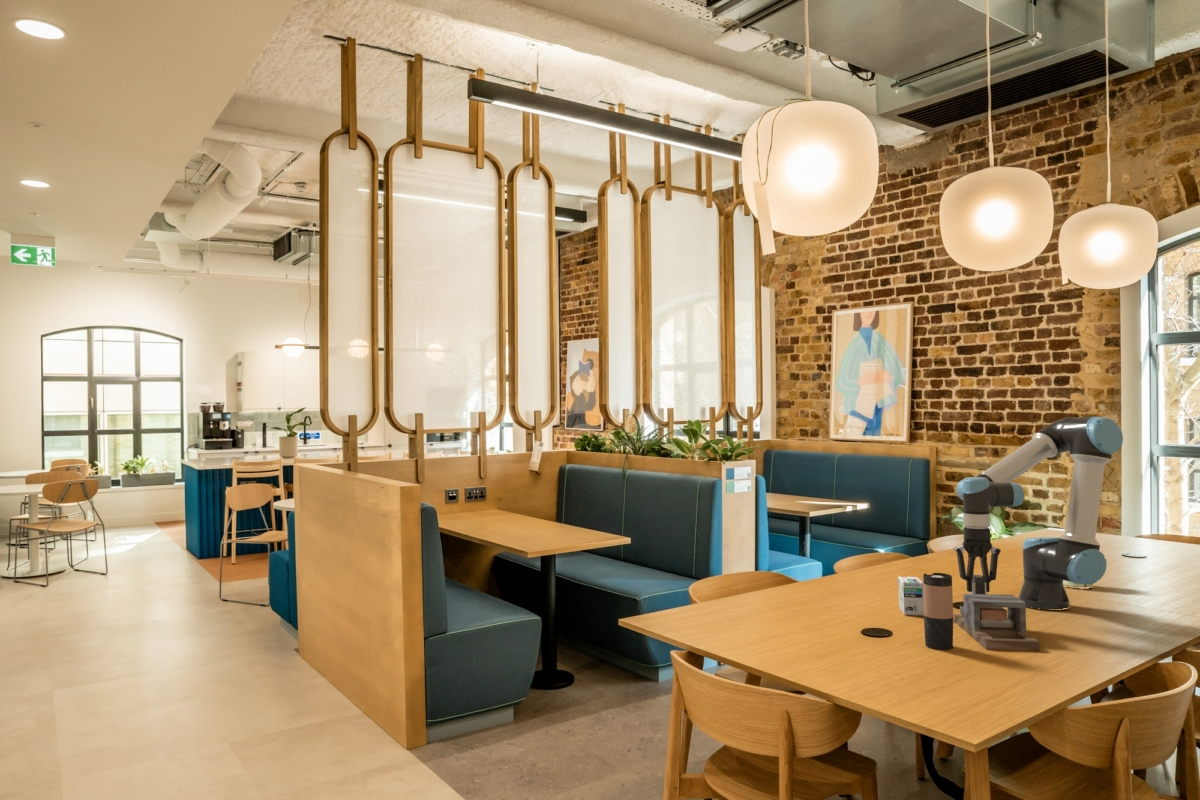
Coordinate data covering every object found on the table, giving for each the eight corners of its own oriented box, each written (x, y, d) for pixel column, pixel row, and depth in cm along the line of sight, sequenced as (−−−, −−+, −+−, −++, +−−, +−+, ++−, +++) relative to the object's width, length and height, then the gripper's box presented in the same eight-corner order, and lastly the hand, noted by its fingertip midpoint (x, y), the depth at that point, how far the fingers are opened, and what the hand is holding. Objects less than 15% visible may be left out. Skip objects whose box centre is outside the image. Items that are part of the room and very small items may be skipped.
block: (1000, 622, 237) (999, 605, 237) (1007, 627, 231) (1007, 610, 231) (975, 621, 238) (975, 605, 238) (982, 627, 232) (981, 610, 232)
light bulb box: (925, 616, 255) (924, 582, 255) (903, 615, 256) (903, 582, 257) (919, 608, 266) (918, 576, 266) (898, 607, 267) (897, 575, 267)
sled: (960, 612, 248) (959, 574, 248) (993, 613, 247) (992, 574, 247) (977, 626, 231) (976, 585, 231) (1014, 627, 230) (1013, 586, 230)
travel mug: (951, 651, 216) (950, 578, 217) (922, 647, 220) (920, 576, 221) (955, 644, 223) (954, 574, 223) (926, 641, 227) (925, 571, 227)
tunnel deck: (954, 621, 248) (953, 586, 248) (1001, 623, 246) (1000, 587, 246) (985, 649, 218) (985, 609, 219) (1039, 650, 216) (1038, 610, 217)
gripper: (998, 525, 249) (1000, 600, 248) (946, 525, 251) (948, 599, 250) (1007, 528, 242) (1009, 605, 241) (954, 528, 244) (955, 604, 243)
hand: (978, 602), depth 246 cm, fingers closed on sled, 2 cm apart
